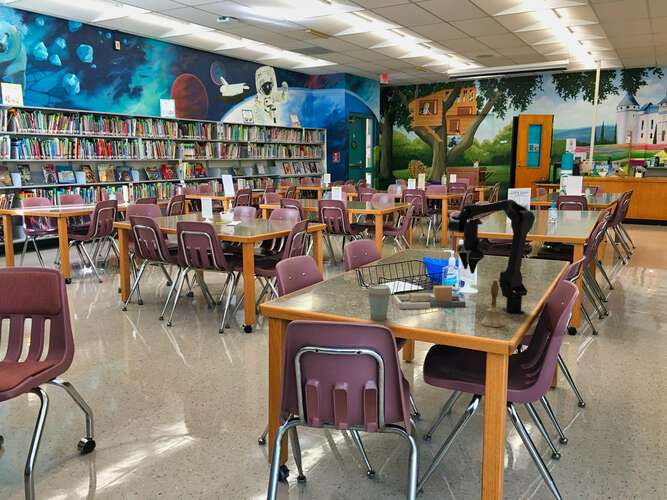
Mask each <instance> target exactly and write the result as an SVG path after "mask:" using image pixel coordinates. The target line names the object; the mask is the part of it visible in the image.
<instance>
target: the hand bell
mask: <svg viewBox="0 0 667 500" xmlns="http://www.w3.org/2000/svg"><path fill="white" fill-rule="evenodd" d="M499 288H500V286H499V283H498V280H497V279H496V280H495V279H494V280H493V281H492V284H491V287H490V295H491V304H490V307H489V308H487V309H486V313H485V315H484V318H483V319H482V320H480V321H481V322H480V324H481V325H483V326H485V327H490V328H491V327H493V328H500V327H502V328H503V327H504V326H505V322H504V321H503V320H502V317H501V311H500V309H499V308H498V307H497V298H498V295H499Z"/></svg>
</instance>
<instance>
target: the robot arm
mask: <svg viewBox="0 0 667 500" xmlns="http://www.w3.org/2000/svg"><path fill="white" fill-rule="evenodd" d="M502 211H504V212H505V216H506V217H507V218H508V219H509V220H510V221H511V222H510V226H511V229H512V234H513V236H512V239H511V244H510V245H511V246H510V251H509V256H508V261H507V267H506V268H505V270H504V271H500V274H499V280H497V283H498V282H499V283H498V286H499V288H500V291H501V295H502V297H504V298H505V299H506V303H505V304H506V305H505V307H503V308H502V310H503V311H505V312H506V313H508V314H525V311H524V310H523V309H522V307H523V306H522V305H523V297H525V296H527V294H528V293H529V292H528V290H527V288H526V286H525V285H524V283H523V275H522V272H521V267H522V261H523V258H524V257H523V256H524V251H525V246H526V241H527V235H528V234H529V232H530V231H531V230H532V228H533V226H534V223H535V220H536V216H535V215H534V213H533V212H532V211H531V210H528V209H527V208H526V206H522V205H520V204H519V203H517V202H516V200H514V199H504V200H500V201H495V202H489V203H473V204H472V203H471V204H469V203H468V204H464V205H463V206H462V210H461V211H460V213H459V214H458V216H457V215H452V216H451V219H450V220H449V222H448V223H447V228H448V230H449V232H451V233H452V232H453V233H459V234H463V235H462V236H461V239H462V241H463V242H462V243H463V244H458V245H457V246H456V252H457V254H458V257H459V258H460V262H461V264H462V267H463V269H464V270H468V268H469V272H470V274H474V273H475V272H476V269H477V265H478V264H479V262H480V261H482V260H483V259H484V258H485V253H484V251H485V252H486V253H490V250H491V248H492V245H491V244H489V243H486V239H483V238H480V237H478V236H479V235H478V234H479V225H483V224H484V223H483V221H481V219H480V218H479V217H483V216H484V215H486V214H489V213H497V212H502Z"/></svg>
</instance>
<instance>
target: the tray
mask: <svg viewBox="0 0 667 500" xmlns="http://www.w3.org/2000/svg"><path fill="white" fill-rule="evenodd" d="M392 300H393V301H394V304H395V305H396V306H397V307H398V309H430V308H431V307H430V303H429V302H427V303H409V302H402V301H409V294H393V295H392Z"/></svg>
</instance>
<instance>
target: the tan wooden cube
mask: <svg viewBox="0 0 667 500" xmlns="http://www.w3.org/2000/svg"><path fill="white" fill-rule="evenodd" d="M419 293H420V292H418V293H417V292H416V293H415V292H414V293H413V292H412V293H408V295H409V300H408V303H421V295H420V294H419Z"/></svg>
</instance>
